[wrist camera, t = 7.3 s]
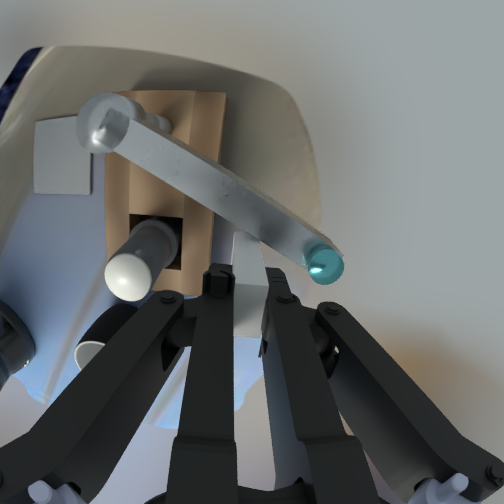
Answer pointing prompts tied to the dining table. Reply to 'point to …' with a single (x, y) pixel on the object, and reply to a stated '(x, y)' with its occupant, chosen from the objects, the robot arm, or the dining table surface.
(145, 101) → the socket block
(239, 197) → the crank
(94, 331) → the mug
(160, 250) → the plug
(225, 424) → the robot arm
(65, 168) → the mat
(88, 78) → the dining table surface
